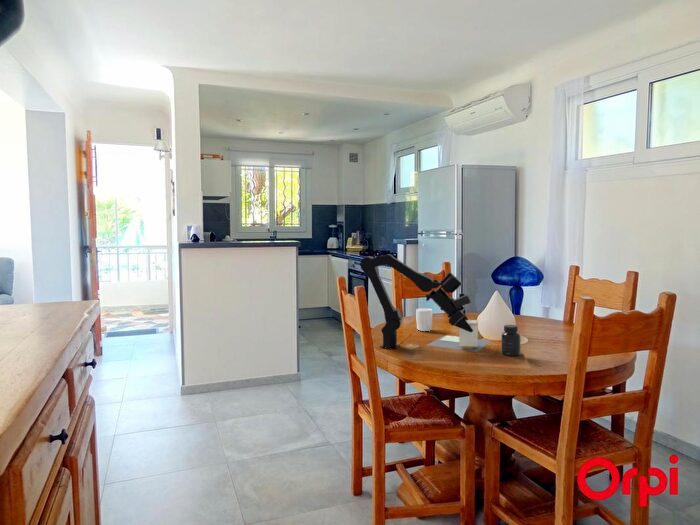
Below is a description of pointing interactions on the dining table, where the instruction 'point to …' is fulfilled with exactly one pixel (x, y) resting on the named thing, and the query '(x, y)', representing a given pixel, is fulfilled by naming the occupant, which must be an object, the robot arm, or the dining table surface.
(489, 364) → the dining table surface
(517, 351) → the supplement bottle
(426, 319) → the white cup
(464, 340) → the white rounded cube
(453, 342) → the board
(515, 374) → the dining table surface
